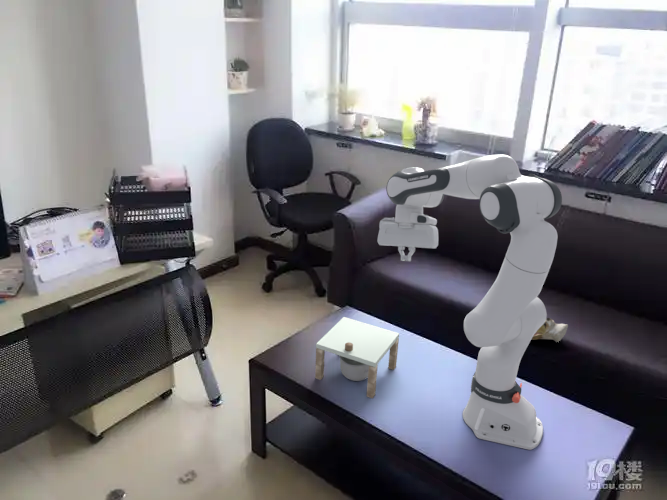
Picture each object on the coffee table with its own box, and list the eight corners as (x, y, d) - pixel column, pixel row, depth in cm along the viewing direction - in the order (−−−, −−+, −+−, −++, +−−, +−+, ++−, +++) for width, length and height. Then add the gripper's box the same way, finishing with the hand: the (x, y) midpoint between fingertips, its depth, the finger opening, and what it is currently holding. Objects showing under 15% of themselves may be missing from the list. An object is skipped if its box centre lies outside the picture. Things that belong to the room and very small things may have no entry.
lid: (398, 337, 186) (399, 329, 185) (375, 367, 171) (375, 358, 169) (343, 320, 194) (344, 312, 193) (316, 347, 179) (316, 339, 178)
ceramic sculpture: (569, 328, 201) (524, 321, 205) (566, 349, 204) (521, 342, 209) (568, 314, 210) (525, 308, 215) (565, 334, 213) (522, 328, 218)
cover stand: (396, 366, 191) (399, 337, 187) (372, 398, 175) (374, 367, 171) (342, 348, 199) (344, 320, 195) (315, 378, 183) (316, 348, 179)
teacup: (369, 388, 180) (371, 366, 177) (335, 382, 182) (336, 361, 179) (375, 362, 192) (377, 342, 189) (343, 358, 194) (345, 337, 191)
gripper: (375, 216, 189) (372, 258, 189) (434, 218, 178) (431, 262, 178) (384, 218, 195) (381, 259, 194) (441, 220, 184) (438, 263, 184)
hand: (405, 261), depth 186 cm, fingers closed
